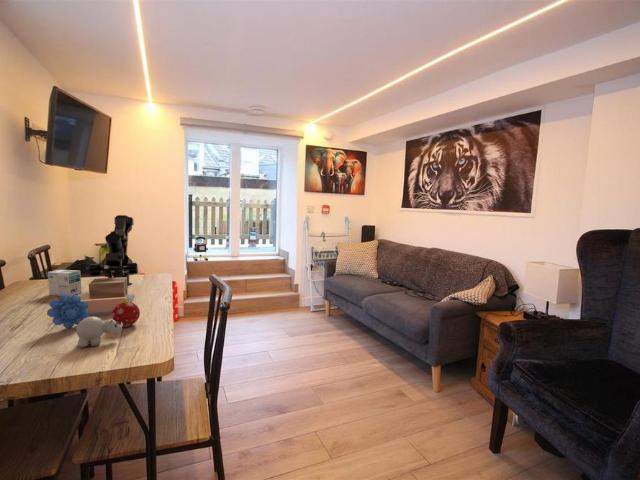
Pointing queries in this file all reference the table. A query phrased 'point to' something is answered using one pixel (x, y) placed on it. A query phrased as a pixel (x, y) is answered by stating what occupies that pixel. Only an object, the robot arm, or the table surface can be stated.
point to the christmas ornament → (126, 313)
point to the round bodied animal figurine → (95, 330)
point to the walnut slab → (108, 288)
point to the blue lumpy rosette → (68, 310)
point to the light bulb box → (64, 282)
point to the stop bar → (103, 304)
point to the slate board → (130, 299)
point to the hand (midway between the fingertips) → (111, 285)
